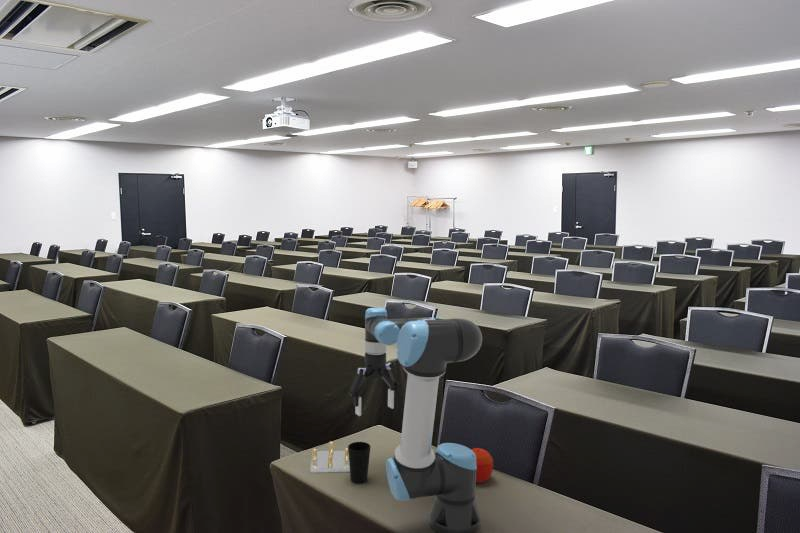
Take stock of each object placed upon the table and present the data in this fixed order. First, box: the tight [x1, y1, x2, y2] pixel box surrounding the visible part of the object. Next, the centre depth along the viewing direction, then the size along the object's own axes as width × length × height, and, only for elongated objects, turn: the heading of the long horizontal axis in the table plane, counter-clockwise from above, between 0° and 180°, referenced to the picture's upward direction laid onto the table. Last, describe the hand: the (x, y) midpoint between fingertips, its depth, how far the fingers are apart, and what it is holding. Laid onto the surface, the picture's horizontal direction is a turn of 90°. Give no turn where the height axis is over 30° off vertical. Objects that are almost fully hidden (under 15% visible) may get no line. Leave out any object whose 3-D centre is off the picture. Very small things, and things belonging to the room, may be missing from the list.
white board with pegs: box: [309, 440, 350, 474], centre depth 204 cm, size 14×14×6 cm
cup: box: [347, 441, 371, 485], centre depth 192 cm, size 8×8×12 cm
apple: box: [470, 447, 494, 484], centre depth 194 cm, size 10×10×12 cm
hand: (374, 411), depth 198 cm, fingers open, 13 cm apart
